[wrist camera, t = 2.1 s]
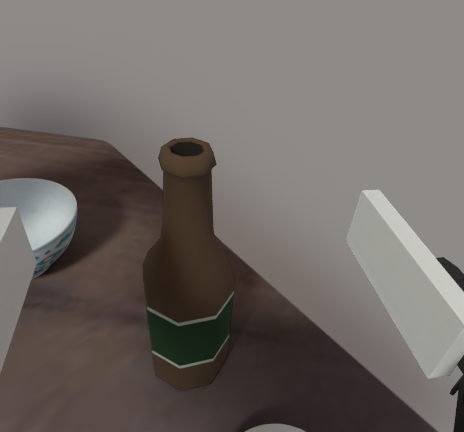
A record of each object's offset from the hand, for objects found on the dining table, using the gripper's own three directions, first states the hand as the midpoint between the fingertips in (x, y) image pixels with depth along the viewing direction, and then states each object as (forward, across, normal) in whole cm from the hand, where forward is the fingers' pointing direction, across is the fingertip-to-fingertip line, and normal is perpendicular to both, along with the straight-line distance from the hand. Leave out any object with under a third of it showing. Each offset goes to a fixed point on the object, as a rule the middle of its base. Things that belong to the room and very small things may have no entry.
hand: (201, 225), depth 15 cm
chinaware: (+26, -19, -26) cm, 41 cm away
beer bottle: (+10, 0, -26) cm, 28 cm away
